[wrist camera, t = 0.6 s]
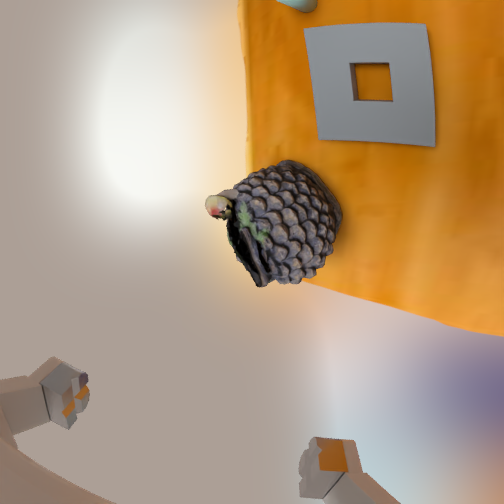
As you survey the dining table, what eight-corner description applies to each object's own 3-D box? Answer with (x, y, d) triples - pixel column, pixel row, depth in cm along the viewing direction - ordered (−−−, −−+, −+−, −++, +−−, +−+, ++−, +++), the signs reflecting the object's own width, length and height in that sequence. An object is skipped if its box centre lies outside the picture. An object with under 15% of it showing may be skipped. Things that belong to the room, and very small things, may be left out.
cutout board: (311, 31, 42) (303, 28, 39) (425, 28, 32) (425, 23, 29) (325, 135, 52) (318, 139, 49) (434, 142, 42) (435, 147, 39)
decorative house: (252, 180, 66) (173, 233, 48) (296, 136, 55) (219, 176, 38) (314, 253, 67) (258, 329, 50) (366, 220, 57) (326, 300, 39)
